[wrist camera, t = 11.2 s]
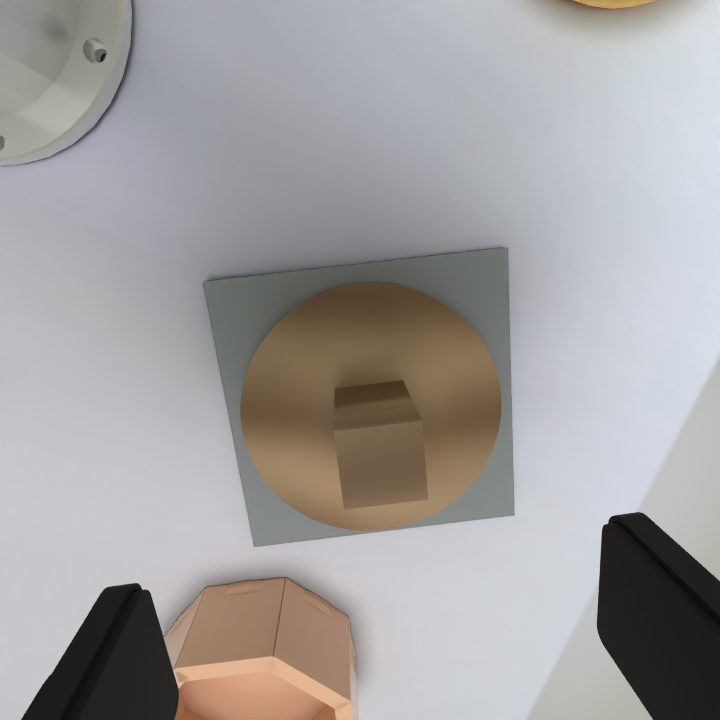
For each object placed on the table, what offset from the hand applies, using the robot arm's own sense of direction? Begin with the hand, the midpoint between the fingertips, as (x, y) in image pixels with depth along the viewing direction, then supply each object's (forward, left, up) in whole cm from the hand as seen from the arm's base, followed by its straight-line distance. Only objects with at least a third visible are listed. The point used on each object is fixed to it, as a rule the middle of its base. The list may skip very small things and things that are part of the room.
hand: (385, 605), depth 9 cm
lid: (+1, +1, -13) cm, 13 cm away
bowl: (+16, -7, -14) cm, 22 cm away
